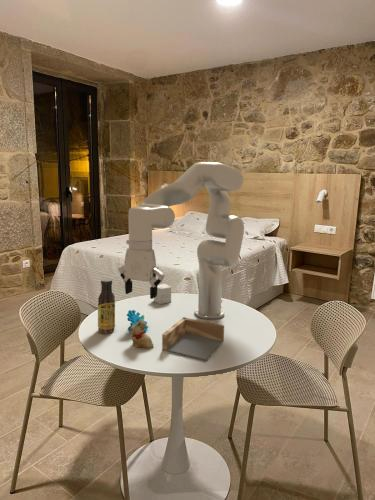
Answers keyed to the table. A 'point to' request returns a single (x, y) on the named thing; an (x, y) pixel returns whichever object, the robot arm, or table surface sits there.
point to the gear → (135, 319)
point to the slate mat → (194, 346)
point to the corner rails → (191, 331)
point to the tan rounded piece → (140, 336)
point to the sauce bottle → (106, 307)
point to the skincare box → (163, 294)
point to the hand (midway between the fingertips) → (141, 295)
